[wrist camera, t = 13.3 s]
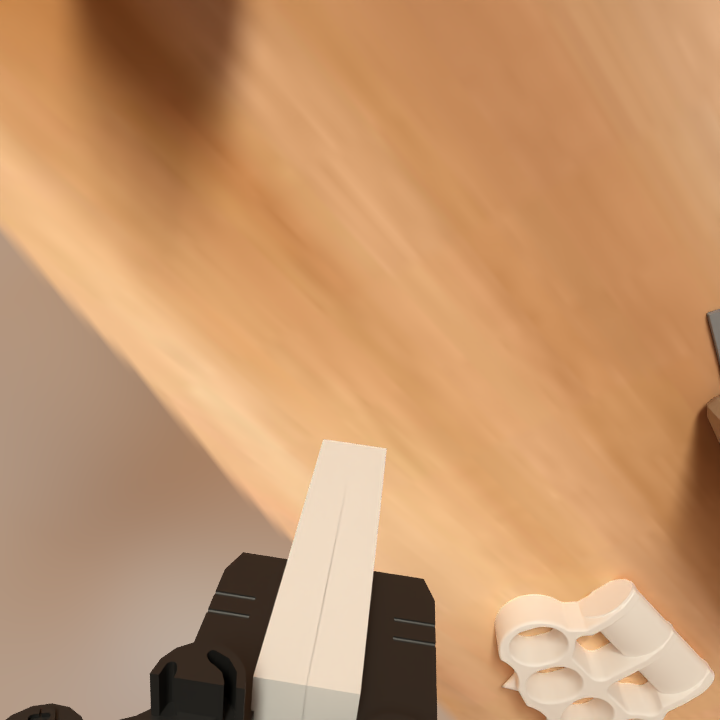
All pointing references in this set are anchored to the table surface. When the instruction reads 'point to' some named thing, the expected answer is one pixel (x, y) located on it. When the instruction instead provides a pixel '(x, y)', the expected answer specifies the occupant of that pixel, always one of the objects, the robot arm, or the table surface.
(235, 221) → the table surface
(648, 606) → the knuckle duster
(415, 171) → the table surface
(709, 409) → the wooden block
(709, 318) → the rubber mat
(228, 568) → the robot arm
